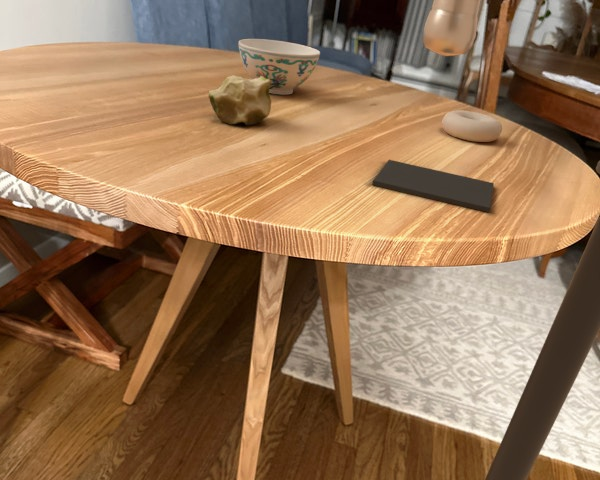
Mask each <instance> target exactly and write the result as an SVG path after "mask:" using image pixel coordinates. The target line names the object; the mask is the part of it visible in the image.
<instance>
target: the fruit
mask: <svg viewBox="0 0 600 480" xmlns="http://www.w3.org/2000/svg"><path fill="white" fill-rule="evenodd" d="M277 85H279V82H278V83H277V84H276V85H274V86H272V87H270V79H266V78H264V77H263V76H260V78H255V79H252V78H244V76H243V77H242V76H240V75H234V74H232V75H230V76H227V77H225V79H224V80H223V82H222V83H221V85H220V86H219V87H218V88H215V89H211V90H209V91H208V99H209V102H210V105H211V107H212V110H213V111H214V113H215V115H216V117H217V118H218V119H219V120H220V121H222V122H224V123H225V124H228V125H237V124H240V123H244V124H245V126H253V125H257V124H259V123H261V122H262V121H263V120H265V119H266V118H268V116H269V115H270V113H271V110H272V99H271V96H270V93H269V89H272V88H274V87H276V86H277ZM269 87H270V88H269Z"/></svg>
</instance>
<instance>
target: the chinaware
mask: <svg viewBox="0 0 600 480" xmlns="http://www.w3.org/2000/svg"><path fill="white" fill-rule="evenodd" d="M237 43H238V50H239V51H238V52H239V56H240V60H241V63H242V66H243V67H244V69H245V71H246V73H247V75H249V77H250V79H255V78H260V76H263V77H264V78H266V79H270V87H272V86H274V85H276V84H277V83H278V82H279V85H277V86H276V87H274V88H272V89H269V94H273V95H280V96H281V95H283V96H284V95H285V96H287V95H293V93H294V89H295V88H297V87H299V86H300V85H302V84H303V83H304V82H305V81H306V80H308V79H309V77H310V76H311V75H312V73H313V72H314V71H315V69H316V67H317V64H318V62H319V59H320V56H321V51H320V50H319V49H316V48H314V47H310V46H308V45H303V44H301V43H300V44H299V43H295V42H289V41H283V40H276V39H266V38H264V39H263V38H245V39H244V38H243V39H240V40H238V42H237ZM270 87H269V88H270Z"/></svg>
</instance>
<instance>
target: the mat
mask: <svg viewBox="0 0 600 480" xmlns="http://www.w3.org/2000/svg"><path fill="white" fill-rule="evenodd" d="M371 185H372V186H373V187H379V188H384V189H388V190H391V191H396V192H401V193H404V194H408V195H413V196H416V197H417V196H418V197H421V198H426V199H430V200H434V201H439V202H443V203H446V204H451V205H455V206H459V207H463V208H468V209H472V210H476V211H481V212H484V213H490V210H491V207H492V199H493V193H494V185H495V184H494V182H490V181H486V180H480V179H478V178H477V179H476V178H473V177H468V176H465V175H460V174H455V173H451V172H446V171H441V170H438V169H432V168H428V167H424V166H420V165H415V164H410V163H407V162H402V161H398V160H394V159H388V160H387V162H386V163H385V164H384V165H383V167H382V168H381V169H380V171H378V173H377V175H376V176H375V177H374V179H372V183H371Z"/></svg>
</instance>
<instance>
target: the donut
mask: <svg viewBox="0 0 600 480" xmlns="http://www.w3.org/2000/svg"><path fill="white" fill-rule="evenodd" d="M441 126H442V129H443V130H444V132H446V133H447V134H449V135H450V136H452V137H453V138H454V137H455V138H457V139H460V140H464V141H468V142H474V143H475V142H476V143H490V142H494V141H496V140H498V139H499V137H500V136H501V134H502V132H503V125H502V123H501V122H500V121H499V120H498V119H497V118H495V117H493V116H491V115H488V114H485V113H481V112H477V111H471V110H470V111H469V110H463V109H462V110H461V109H460V110H458V109H457V110H452V111H448V112H447V113H446V114H445V115H443V117H442V120H441Z"/></svg>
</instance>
